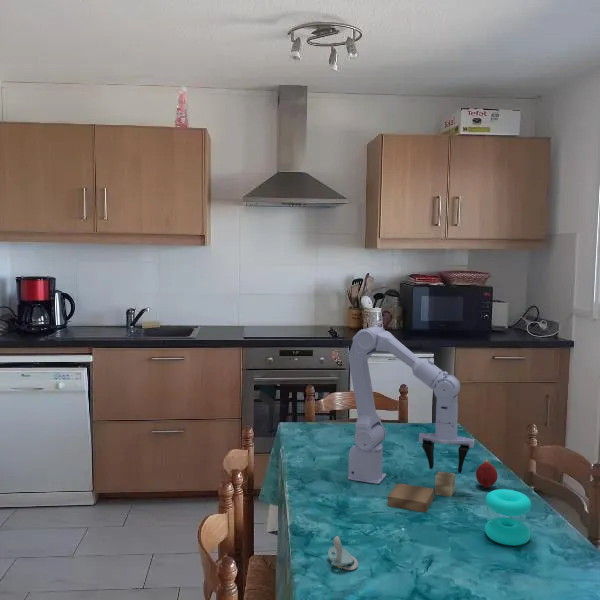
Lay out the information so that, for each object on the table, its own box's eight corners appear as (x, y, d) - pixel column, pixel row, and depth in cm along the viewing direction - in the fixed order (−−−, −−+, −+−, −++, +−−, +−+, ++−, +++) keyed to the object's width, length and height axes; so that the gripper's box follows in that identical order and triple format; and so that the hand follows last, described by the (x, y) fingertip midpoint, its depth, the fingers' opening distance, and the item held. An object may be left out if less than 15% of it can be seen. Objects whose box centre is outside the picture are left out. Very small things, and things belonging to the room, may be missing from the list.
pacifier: (353, 555, 134) (326, 557, 133) (354, 528, 134) (327, 529, 133) (361, 573, 127) (333, 574, 126) (363, 543, 127) (334, 544, 126)
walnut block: (387, 507, 160) (387, 496, 160) (397, 493, 169) (397, 483, 169) (426, 514, 156) (426, 502, 156) (433, 499, 165) (434, 488, 165)
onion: (498, 492, 169) (499, 464, 168) (476, 491, 170) (477, 462, 170) (495, 485, 175) (496, 457, 174) (474, 483, 176) (475, 455, 175)
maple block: (435, 494, 168) (435, 476, 168) (438, 488, 172) (438, 471, 172) (451, 497, 166) (452, 479, 166) (454, 491, 170) (455, 473, 170)
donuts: (492, 484, 149) (535, 493, 144) (491, 524, 150) (534, 534, 144) (480, 498, 140) (526, 508, 135) (479, 540, 141) (524, 552, 136)
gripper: (416, 421, 167) (416, 470, 168) (472, 427, 161) (470, 478, 162) (422, 415, 173) (421, 462, 174) (475, 421, 167) (474, 469, 169)
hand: (445, 469), depth 169 cm, fingers open, 7 cm apart
